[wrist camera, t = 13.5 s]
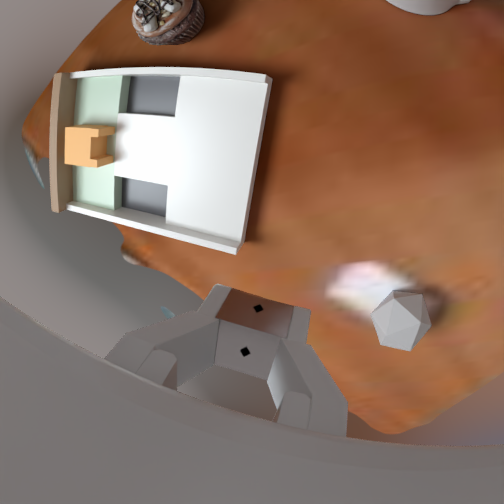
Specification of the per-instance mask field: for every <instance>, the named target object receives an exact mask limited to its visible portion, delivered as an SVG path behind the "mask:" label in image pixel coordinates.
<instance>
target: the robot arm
mask: <svg viewBox="0 0 504 504" xmlns="http://www.w3.org/2000/svg"><path fill="white" fill-rule="evenodd" d="M386 1H388V2H389V3H391V4H393V5H395V6H397V7H399V8H401V9H403V10H406V11H408V12H412V13H416V14H421V15H437V14H441V13H444V12H446V11H447V10H449V9H450V8H451V7H453V6H454V5H456V4H465V3H469V2H470V1H471V0H386ZM310 315H311V310H310V309H307V308H302V307H298V306H292V305H288V304H285V303H281V302H277V301H273V300H269V299H266V298H263V297H260V296H257V295H253V294H250V293H247V292H244V291H240V290H237V289H234V288H231V287H227V286H224V285H221V284H216V285H214V287H213V288H212V290H211V291H210V293H209V294H208V296H207V297H206V299H205V300H204V302H203V303H202V305H201V306H200V308H199V309H198V311H197V312H195V311H190V312H187V313H184V314H181V315H179V316H176V317H173V318H170V319H167V320H164V321H161V322H158V323H155V324H152V325H150V326H146V327H143V328H140V329H137V330H135V331H131V332H129V333H126V334H125V335H124V336H123V338H121V339H120V341H119V342H118V343H117V344H116V345H115V347H114V348H113V349H112V350H111V351H110V352H109V354H108V355H107V356H106V357H105V358H104V359H103V358H101V357H99V356H97V355H95V354H93V353H91V352H89V351H88V350H86V349H84V348H82V347H80V346H78V345H77V344H75V343H73V342H71V341H69V340H68V339H66V338H64V337H62V336H61V335H59V334H57V333H56V332H54V331H52V330H50V329H49V328H47V327H45V326H44V325H42V324H41V323H39V322H37V321H36V320H34V319H33V318H31V317H30V316H28V315H26V314H25V313H23V312H22V311H20V310H19V309H18V308H16V307H15V306H13V305H12V304H10V303H9V302H7V301H6V300H5V299H3V298H2V297H0V504H504V444H502V445H486V446H426V445H409V444H396V443H386V442H377V441H368V440H362V439H355V438H348V437H346V427H347V411H348V402H347V400H346V399H345V397H344V396H343V394H342V393H341V391H340V390H339V388H338V387H337V385H336V383H335V382H334V380H333V379H332V377H331V376H330V374H329V373H328V371H327V370H326V368H325V367H324V365H323V363H322V362H321V360H320V359H319V357H318V356H317V354H316V353H315V351H314V350H313V348H312V347H311V345H308V344H306V341H307V335H308V328H309V321H310ZM213 364H216V365H219V366H222V367H225V368H229V369H232V370H236V371H240V372H242V373H245V374H249V375H252V376H255V377H258V378H261V379H264V380H267V383H268V386H269V388H270V391H271V394H272V397H273V400H274V402H275V405H276V408H277V412H276V414H275V417H274V418H273V421H268V420H264V419H260V418H257V417H253V416H249V415H246V414H242V413H239V412H236V411H233V410H229V409H226V408H223V407H220V406H217V405H214V404H211V403H208V402H205V401H202V400H199V399H197V398H194V397H191V396H189V395H186V394H183V393H181V392H178V391H177V387H178V386H180V385H182V384H183V383H185V382H187V381H188V380H190V379H192V378H194V377H195V376H197V375H199V374H200V373H202V372H204V371H205V370H206V369H208V368H210V367H212V366H213Z"/></svg>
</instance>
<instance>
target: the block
mask: <svg viewBox="0 0 504 504" xmlns="http://www.w3.org/2000/svg"><path fill="white" fill-rule="evenodd" d="M113 134H115V127H113V126H106V125H84V124H82V125H75V126H69V127H65V164H70V165H77V166H84V167H95V168H98V167H101V166H104V165H107V164H111V163H113V155H107V154H106V153H107V135H113Z"/></svg>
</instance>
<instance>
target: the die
mask: <svg viewBox="0 0 504 504" xmlns="http://www.w3.org/2000/svg"><path fill="white" fill-rule="evenodd" d="M371 317H372V320H373V323H374V326H375V329H376V332H377V335H378V338H379V341H380V345H384V346H388V347H393V348H397V349H402V350H406V351H411V350H412V349H413V347H414V346H415V345H416V344H417V343H418V342H419V340H420V339H421V338H422V337H423V336H424V334H425V333H426V332H427V331H428V330H429V328H430V327H431V326H432V325H431V322H430V318H429V314H428V311H427V307H426V304H425V301H424V297H423V294H419V293H410V292H401V291H392V292H391V293H390V294H389V295H388V296H387V297H386V298H385V299H384V300H383V301H382V302H381V304H380V305H379V306H378V307H377V308H376V309H375V310H374V311H373V312H372V313H371Z"/></svg>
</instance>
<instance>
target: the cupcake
mask: <svg viewBox="0 0 504 504" xmlns="http://www.w3.org/2000/svg"><path fill="white" fill-rule="evenodd" d="M204 17H205V15H204V9H203V7H202V6H201V4H200V2H199V1H198V0H138V1H137V2H136V4H135V6H134V10H133V13H132V24H133V26H134V28H135V29H136V30H137V33H139V34H138V36H141V37H140V39H143V41H145V42H148V43H149V44H152V45H178V44H184V43H185V42H187V41H190V40H191V38H192V37H194V36H195V35H196V34H197V33H198V32H199V31H200V29H201V27H202V26H203V23H204V19H205V18H204Z"/></svg>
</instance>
